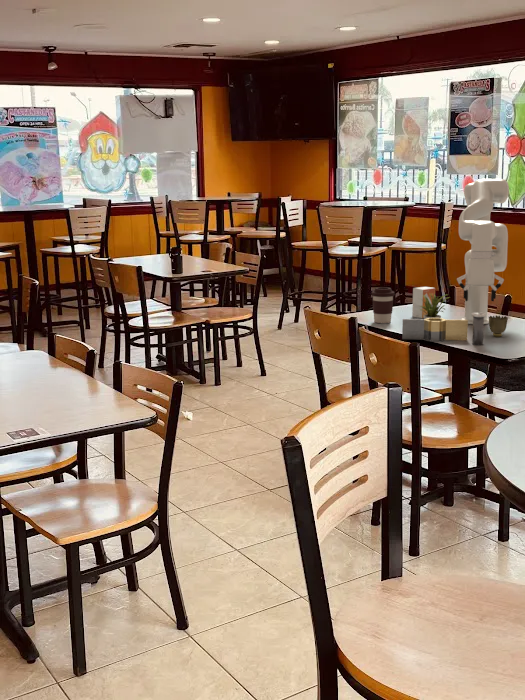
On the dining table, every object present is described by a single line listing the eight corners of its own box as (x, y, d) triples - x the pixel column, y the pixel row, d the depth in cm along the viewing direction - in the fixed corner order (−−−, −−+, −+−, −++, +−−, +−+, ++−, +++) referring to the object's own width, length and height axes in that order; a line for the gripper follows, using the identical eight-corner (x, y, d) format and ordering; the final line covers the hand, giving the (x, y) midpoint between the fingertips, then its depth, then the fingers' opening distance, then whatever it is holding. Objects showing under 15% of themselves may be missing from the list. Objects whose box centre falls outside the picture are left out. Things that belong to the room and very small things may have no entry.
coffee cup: (369, 323, 377) (369, 289, 373) (373, 319, 386) (373, 286, 383) (392, 324, 374) (392, 290, 371) (395, 320, 383) (396, 286, 380)
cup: (507, 338, 343) (508, 318, 341) (488, 338, 344) (489, 318, 342) (506, 334, 350) (507, 315, 348) (487, 334, 351) (488, 315, 350)
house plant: (457, 329, 362) (459, 290, 358) (445, 335, 351) (446, 295, 347) (425, 326, 370) (426, 288, 366) (412, 331, 358) (413, 292, 355)
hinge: (402, 336, 349) (402, 317, 347) (466, 338, 345) (467, 318, 343) (402, 341, 341) (402, 321, 339) (467, 342, 337) (468, 322, 336)
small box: (422, 318, 387) (422, 289, 384) (411, 316, 392) (412, 288, 389) (434, 316, 392) (435, 287, 389) (424, 314, 397) (425, 286, 394)
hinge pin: (470, 342, 337) (471, 312, 334) (483, 342, 336) (485, 312, 333) (471, 345, 332) (472, 314, 329) (485, 345, 331) (486, 314, 328)
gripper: (503, 254, 329) (501, 299, 332) (457, 254, 331) (455, 298, 335) (506, 256, 321) (503, 302, 325) (458, 256, 324) (456, 301, 327)
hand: (479, 300), depth 330 cm, fingers open, 9 cm apart
